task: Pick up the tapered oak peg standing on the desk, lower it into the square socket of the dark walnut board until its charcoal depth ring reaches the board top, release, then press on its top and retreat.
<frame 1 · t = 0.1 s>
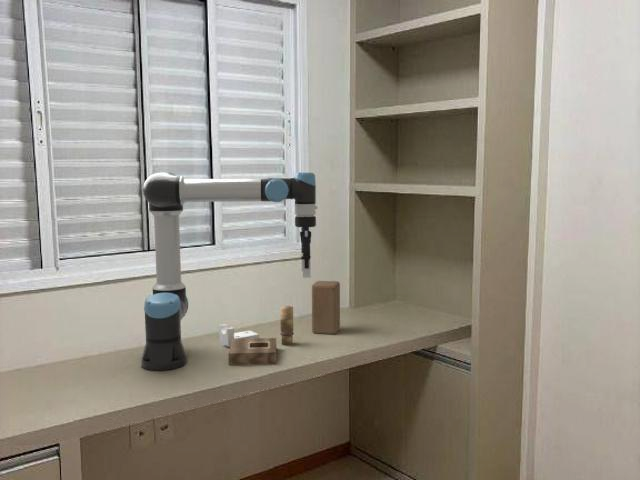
hand: (305, 274, 226), 28 cm above the table, fingers open, 13 cm apart
seat board: (253, 356, 221), on the table
wooden block: (326, 331, 254), on the table
oak peg: (287, 343, 236), on the table
bracket: (239, 344, 237), on the table
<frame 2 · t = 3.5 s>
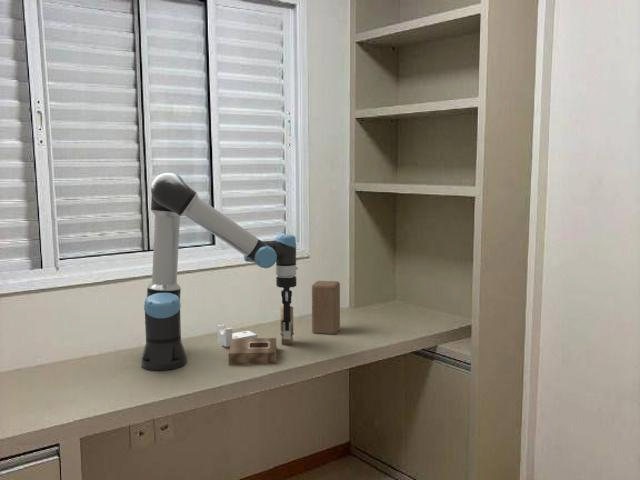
hand: (287, 336, 236), 3 cm above the table, fingers closed on oak peg, 5 cm apart
oak peg: (287, 343, 236), on the table, touching gripper
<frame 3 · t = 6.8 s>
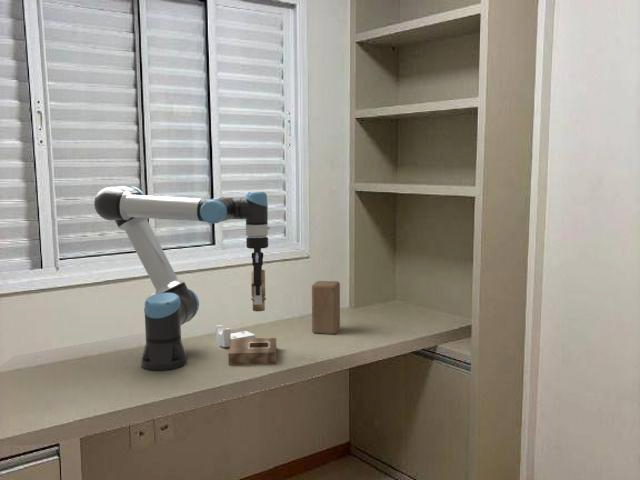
hand: (258, 302, 218), 19 cm above the table, fingers closed on oak peg, 5 cm apart
oak peg: (258, 310, 219), point 17 cm above the table, touching gripper
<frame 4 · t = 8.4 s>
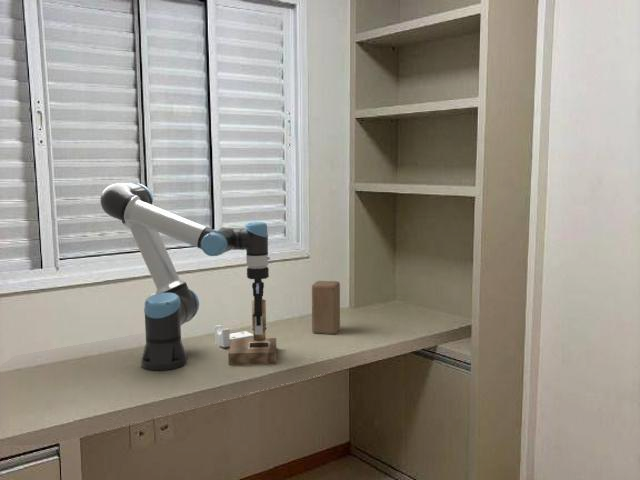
hand: (259, 331, 220), 9 cm above the table, fingers closed on oak peg, 5 cm apart
oak peg: (259, 339, 220), point 6 cm above the table, touching gripper
when the fingers open (5 cm above the table, at t = 9.9 s): oak peg drops 2 cm, resting in seat board.
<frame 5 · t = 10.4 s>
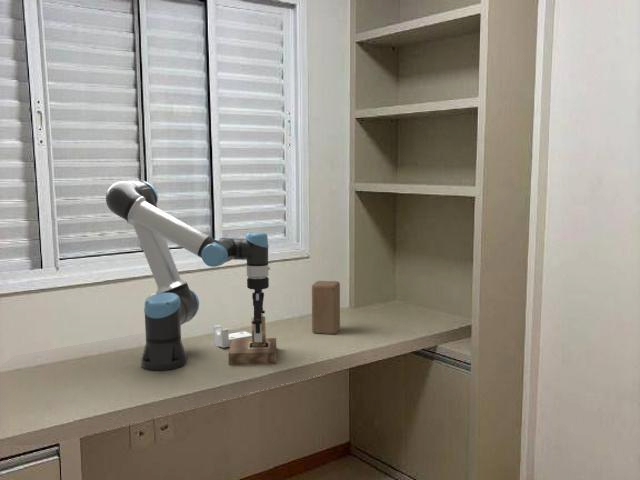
hand: (258, 336, 220), 7 cm above the table, fingers open, 12 cm apart
oak peg: (259, 356, 221), resting in seat board
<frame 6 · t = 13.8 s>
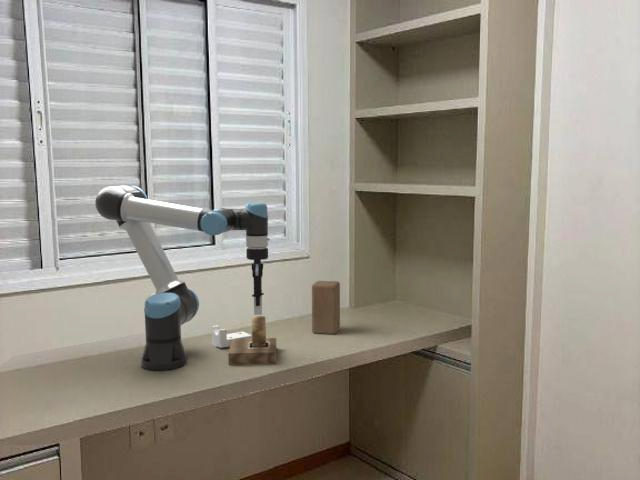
hand: (258, 314, 219), 15 cm above the table, fingers closed
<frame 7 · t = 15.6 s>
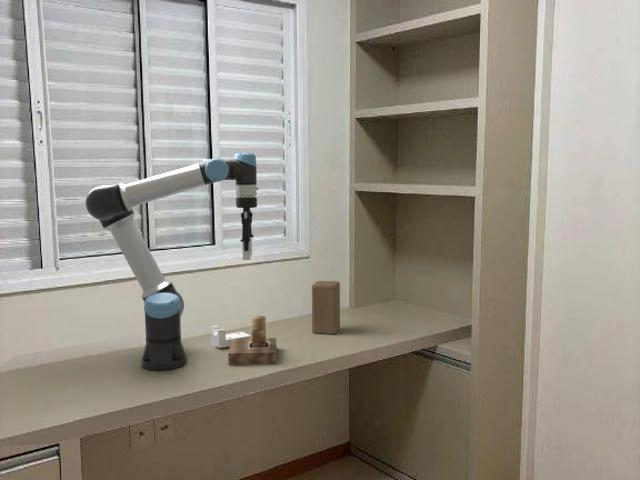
hand: (247, 257, 226), 34 cm above the table, fingers open, 10 cm apart
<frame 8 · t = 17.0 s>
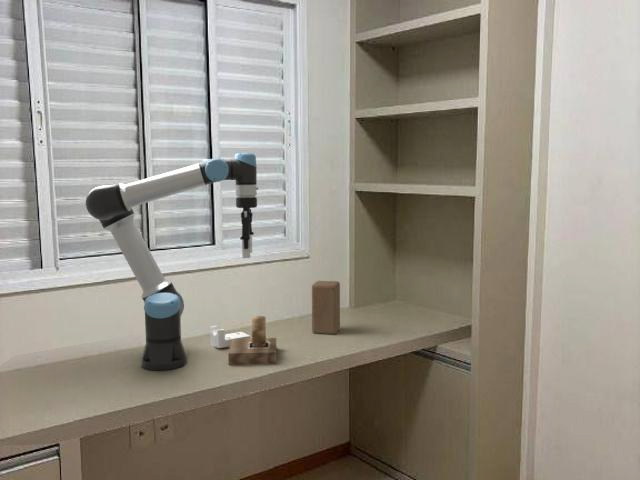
hand: (247, 255, 226), 35 cm above the table, fingers open, 13 cm apart
at the end: oak peg 0.0 cm from the target spot on the seat board, point 0.0 cm above the seat board's base; oak peg tilted 0°; the gripper is holding nothing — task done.
